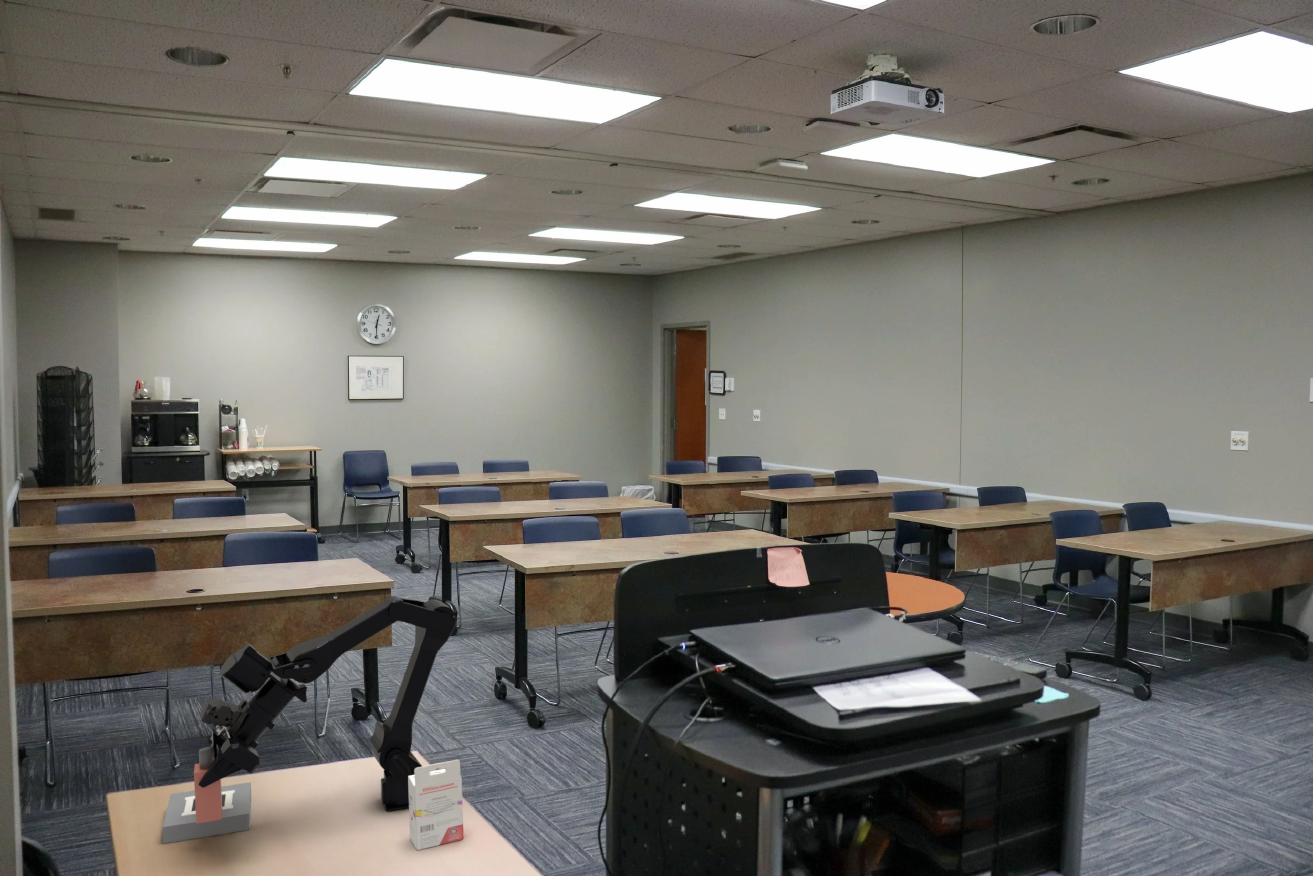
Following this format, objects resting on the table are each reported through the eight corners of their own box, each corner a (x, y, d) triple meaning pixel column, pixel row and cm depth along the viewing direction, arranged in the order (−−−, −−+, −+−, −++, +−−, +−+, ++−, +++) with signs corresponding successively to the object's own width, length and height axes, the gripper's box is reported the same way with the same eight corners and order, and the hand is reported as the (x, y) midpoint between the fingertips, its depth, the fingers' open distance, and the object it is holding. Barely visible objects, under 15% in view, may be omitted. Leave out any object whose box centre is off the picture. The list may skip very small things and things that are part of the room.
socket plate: (251, 797, 189) (250, 781, 188) (249, 829, 176) (248, 812, 175) (171, 809, 184) (170, 793, 183) (163, 843, 171) (162, 826, 170)
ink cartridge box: (456, 828, 176) (454, 749, 175) (464, 840, 172) (462, 759, 170) (408, 839, 172) (406, 758, 171) (415, 851, 168) (413, 769, 167)
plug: (222, 809, 172) (219, 743, 171) (221, 819, 168) (218, 752, 167) (197, 813, 170) (194, 747, 169) (196, 823, 166) (193, 756, 166)
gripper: (222, 667, 177) (157, 737, 173) (235, 697, 161) (164, 776, 157) (269, 701, 182) (207, 771, 177) (287, 734, 166) (219, 812, 161)
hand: (199, 781), depth 168 cm, fingers closed on plug, 4 cm apart
